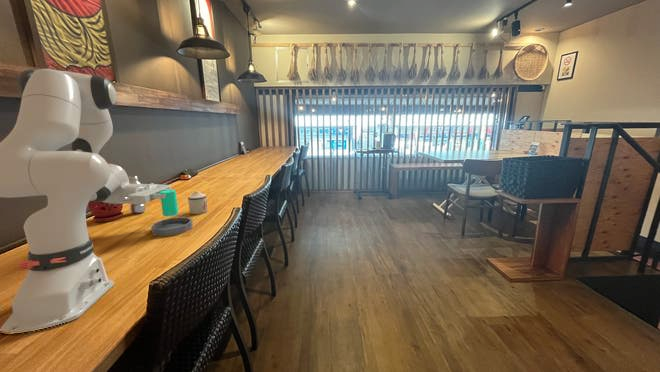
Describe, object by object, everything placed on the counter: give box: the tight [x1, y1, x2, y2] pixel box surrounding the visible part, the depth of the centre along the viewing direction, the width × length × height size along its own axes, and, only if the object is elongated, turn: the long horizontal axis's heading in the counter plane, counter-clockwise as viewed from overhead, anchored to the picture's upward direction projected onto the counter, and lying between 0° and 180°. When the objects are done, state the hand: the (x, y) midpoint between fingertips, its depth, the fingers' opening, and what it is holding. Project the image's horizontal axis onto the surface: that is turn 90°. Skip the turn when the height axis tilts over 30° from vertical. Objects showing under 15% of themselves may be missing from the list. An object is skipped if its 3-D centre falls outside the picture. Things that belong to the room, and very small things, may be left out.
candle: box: [160, 188, 179, 217], centre depth 114 cm, size 6×6×12 cm
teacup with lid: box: [187, 190, 208, 215], centre depth 141 cm, size 12×9×12 cm
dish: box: [150, 216, 194, 237], centre depth 117 cm, size 15×15×3 cm
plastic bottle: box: [128, 175, 147, 214], centre depth 137 cm, size 6×7×20 cm
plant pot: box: [87, 201, 124, 223], centre depth 129 cm, size 13×13×12 cm
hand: (170, 194), depth 114 cm, fingers closed on candle, 5 cm apart
